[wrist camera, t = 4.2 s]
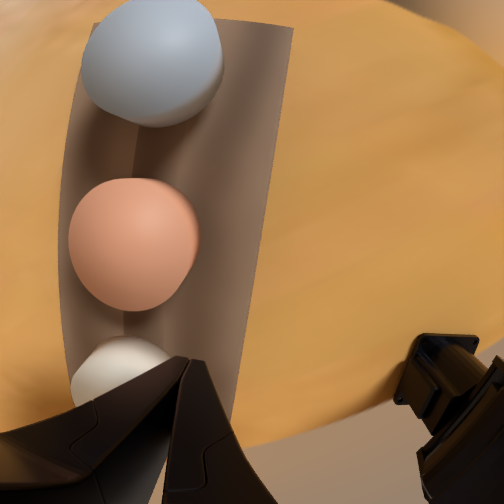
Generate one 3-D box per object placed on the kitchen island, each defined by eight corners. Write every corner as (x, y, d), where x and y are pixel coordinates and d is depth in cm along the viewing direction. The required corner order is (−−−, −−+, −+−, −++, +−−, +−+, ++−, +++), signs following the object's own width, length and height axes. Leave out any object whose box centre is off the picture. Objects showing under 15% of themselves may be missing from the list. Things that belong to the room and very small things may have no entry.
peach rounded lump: (215, 184, 18) (198, 186, 13) (202, 282, 20) (183, 321, 14) (120, 173, 18) (72, 173, 12) (113, 266, 19) (69, 297, 14)
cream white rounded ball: (195, 324, 19) (176, 378, 14) (189, 398, 21) (174, 456, 15) (107, 307, 19) (63, 349, 13) (111, 380, 20) (79, 430, 15)
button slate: (236, 43, 15) (230, -7, 10) (219, 139, 17) (203, 122, 11) (139, 40, 15) (101, -2, 10) (119, 131, 17) (68, 116, 11)
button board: (289, 44, 16) (293, 28, 14) (231, 404, 22) (229, 426, 20) (109, 36, 16) (93, 23, 14) (84, 372, 22) (71, 389, 19)
